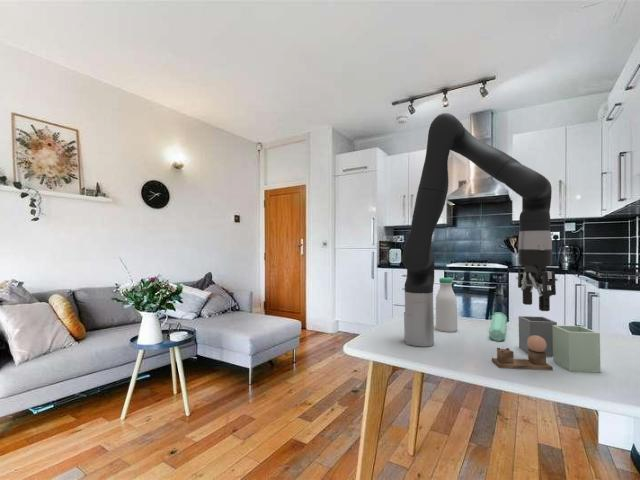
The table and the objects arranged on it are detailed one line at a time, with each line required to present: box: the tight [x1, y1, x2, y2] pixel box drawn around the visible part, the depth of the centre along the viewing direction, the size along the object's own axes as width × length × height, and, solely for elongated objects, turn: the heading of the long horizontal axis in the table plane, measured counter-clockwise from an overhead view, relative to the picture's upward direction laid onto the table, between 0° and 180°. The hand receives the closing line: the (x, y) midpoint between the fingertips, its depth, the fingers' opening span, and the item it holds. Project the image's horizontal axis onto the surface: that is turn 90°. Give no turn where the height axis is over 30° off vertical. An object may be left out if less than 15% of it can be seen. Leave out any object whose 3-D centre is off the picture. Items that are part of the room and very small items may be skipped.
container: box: [488, 311, 508, 342], centre depth 117 cm, size 6×6×25 cm
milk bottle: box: [435, 277, 458, 333], centre depth 122 cm, size 8×8×20 cm
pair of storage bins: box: [518, 315, 602, 373], centre depth 90 cm, size 11×18×10 cm, turn 171°
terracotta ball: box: [527, 335, 547, 352], centre depth 85 cm, size 4×4×4 cm
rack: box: [491, 347, 554, 371], centre depth 85 cm, size 13×5×4 cm, turn 81°
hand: (535, 307), depth 85 cm, fingers open, 8 cm apart
